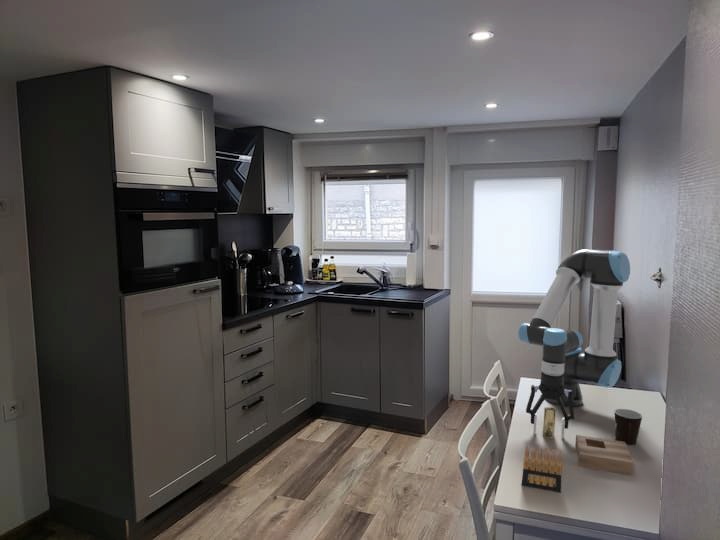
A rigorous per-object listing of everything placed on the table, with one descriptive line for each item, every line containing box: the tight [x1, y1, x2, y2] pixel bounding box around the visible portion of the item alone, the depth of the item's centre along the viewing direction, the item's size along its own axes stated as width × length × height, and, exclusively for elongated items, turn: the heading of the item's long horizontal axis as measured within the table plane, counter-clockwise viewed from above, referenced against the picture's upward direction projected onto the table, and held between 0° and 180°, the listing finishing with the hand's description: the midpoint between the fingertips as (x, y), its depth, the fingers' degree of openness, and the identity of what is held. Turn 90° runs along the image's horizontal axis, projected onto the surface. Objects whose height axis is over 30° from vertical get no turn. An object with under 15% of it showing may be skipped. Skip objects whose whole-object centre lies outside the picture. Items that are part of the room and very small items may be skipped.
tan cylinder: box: [542, 406, 557, 439], centre depth 181 cm, size 4×4×10 cm
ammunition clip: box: [521, 444, 563, 494], centre depth 146 cm, size 11×2×12 cm, turn 71°
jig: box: [574, 434, 634, 476], centre depth 164 cm, size 15×15×4 cm
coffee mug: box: [614, 408, 643, 446], centre depth 177 cm, size 12×9×10 cm
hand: (548, 434), depth 182 cm, fingers open, 9 cm apart
